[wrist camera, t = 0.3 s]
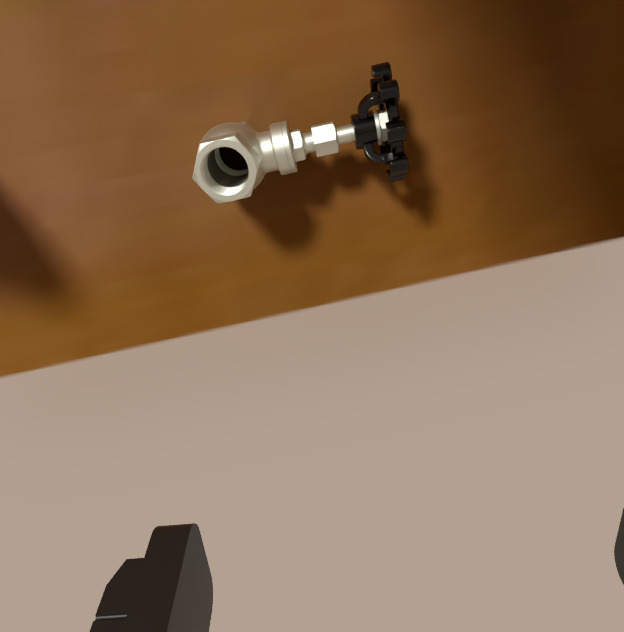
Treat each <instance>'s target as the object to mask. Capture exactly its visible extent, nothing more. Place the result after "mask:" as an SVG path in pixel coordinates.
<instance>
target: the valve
mask: <svg viewBox="0 0 624 632" xmlns="http://www.w3.org/2000/svg"><path fill="white" fill-rule="evenodd" d="M371 74H372V77H374V78H373V79H370V90H371V93H370V94H368V95H366V96H365V97H364V98H363V99H362V100H361V101H360V103H359V105H358V113H357V114H353V115H351V124H349V125H345V126H341V127H336V128H335V126H334V122H332V121H331V122H327V123H322V124H318V125H313V126H311V129H312V132H307V133H302V132H301V130H300V129H296V130H291V131H290V129H289V125H288V122H287V121H282V122H277V123H273V124H270V130H269V131H264V132H260V133H257V132H256V131H255V130H254V129H253V128H252V127H251V126H250V125H249V124H248V123H247V122H246V121H244V122H240V123H230V122H229V123H223V124H219V125H217V126H215V127H213V128H212V129H210V130H209V131H208V132H207V133H206V134H205V135H204V137H203V138H202V140H201V142H200V144H199V147H198V151H197V158H196V163H195V167H194V172H193V179H194V181H195V182H196V183H197V184H198V185H199V186H200V187H201V188H202V189H203V190H204V191H205V192H206V193H207V194H208V195H209V196H210V197H211V198H212V199H213V200H214V201H215V202H217V203H224V202H230V201H234V200H239V199H243V198H247V197H250V196H251V194H252V191H253V189H255V188H256V187H257V186H258V185H259V184H260V183H261V181H262V180H263V178H264V176H265V174H266V173H268V172H273V171H277V170H279V171H280V174H281V175H285V174H290V173H295V172H297V171H298V168H297V161H301V160H305V159H306V155H307V154H308V153H312V152H316V154H317V157H320V156H324V155H329V154H333V153H338V152H339V148H338V145H341V144H345V143H350V142H355V146H356V149H357V150H359V149H364V153H365V155H366V157H367V159H368V160H369V161H371V162H372V163H374V164H377V165H387V164H390V170H387V171H386V174H387V178H388V181H389V182H393V181H398V180H403V179H405V173H408V172H409V163H408V158H407V155H406V153H404V149H403V141H405V140H406V139H407V131H406V125H405V121H404V120H403V119H400V116H399V111H398V104H397V102H398V101H399V87H398V83H397V81H396V80H395V79H394V80H392V73H391V67H390V64H389V62H385V63H381V64H377V65H372V66H371ZM376 77H377V78H376ZM377 104H378V109H379V110H378V111H376V109H375V110H371V111H368V110H369V108H370V107H372V106H373V105H377ZM382 141H383V142H384V146H380V154H377V153H376V152H375V151H374V149H373V146H377V145H381V144H382ZM220 147H229V148H232V149H235V150H236V151H238V152H239V153H240V154H241V155H242V156H243V157H244V159H245V160H246V162H247V165H248V168H247V169H245V170H234V169H231V168H229V167H228V166H227V165H225V164H224V162H223V161H222V159H221V157H220V154H219V148H220Z"/></svg>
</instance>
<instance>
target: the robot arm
mask: <svg viewBox="0 0 624 632" xmlns="http://www.w3.org/2000/svg"><path fill="white" fill-rule="evenodd" d="M614 553H615V562H616V567H617V570H618V573H619V576H620V578H621V580H622V582H623V584H624V509H623V514H622V518H621V522H620V526H619V531H618V535H617V539H616V543H615V550H614ZM212 586H213V585H212V577H211V573H210V569H209V565H208V561H207V558H206V554H205V550H204V546H203V542H202V538H201V535H200V531H199V527H198V526H197V524H182V525H169V526H158V527H156V528H155V529H154V530H153V532H152V535H151V538H150V541H149V545H148V548H147V551H146V554H145V558H137V559H127V560H126V561H125V562H124V563H123V565H122V566H121V567H120V569H119V570H118V571H117V572H116V574H115V575H114V576H113V578H112V579H111V580H110V582H109V583H108V584H107V585H106V588H105V591H104V594H103V596H102V599H101V602H100V604H99V607H98V610H97V613H96V620H95V621H93V624H92V627H91V629H90V632H209V626H210V620H211V613H212V604H213V587H212Z"/></svg>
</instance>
